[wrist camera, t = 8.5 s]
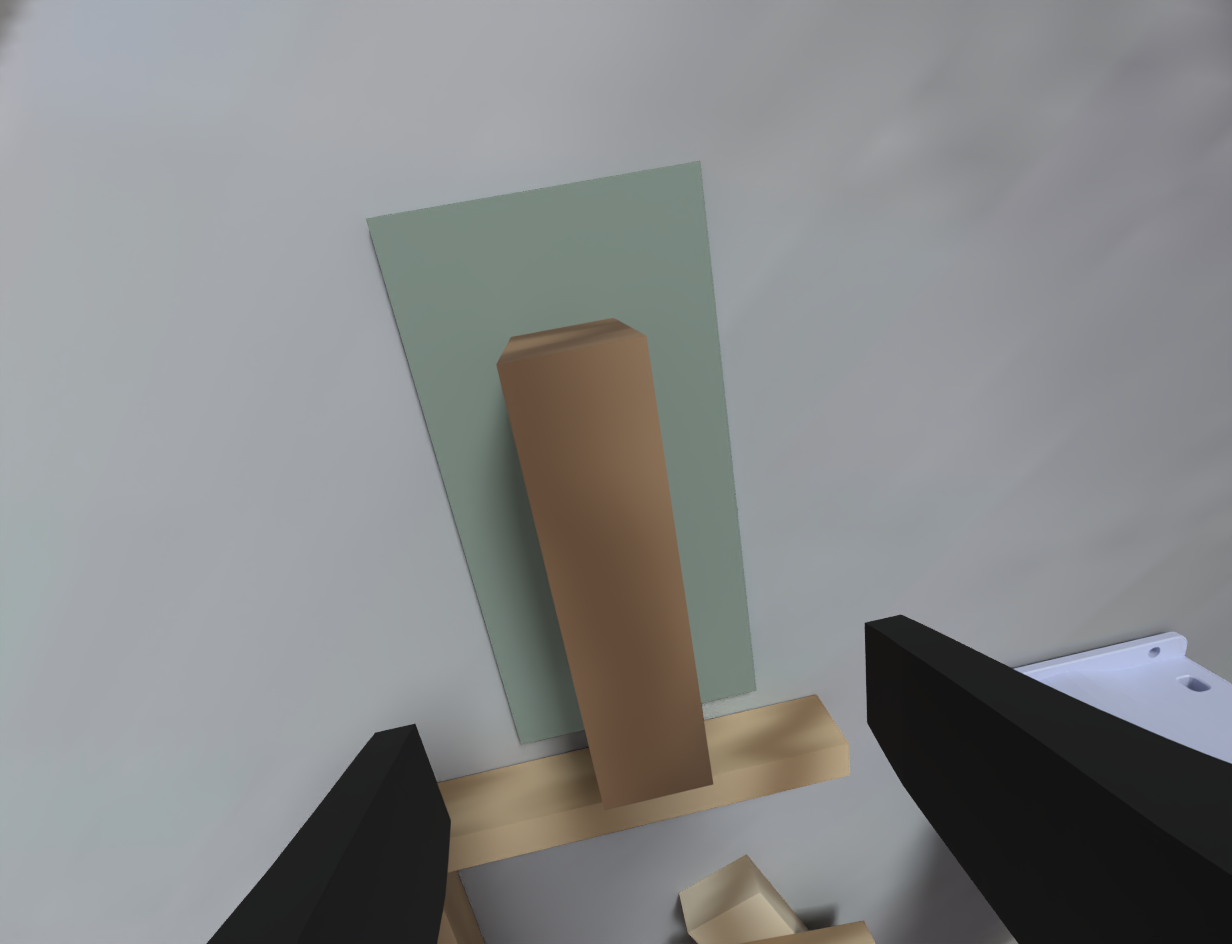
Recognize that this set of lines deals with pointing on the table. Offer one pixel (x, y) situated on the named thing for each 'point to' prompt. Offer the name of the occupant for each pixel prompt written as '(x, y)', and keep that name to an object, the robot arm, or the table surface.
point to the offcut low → (737, 907)
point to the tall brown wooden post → (610, 551)
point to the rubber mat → (479, 422)
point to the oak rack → (573, 810)
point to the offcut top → (826, 936)
